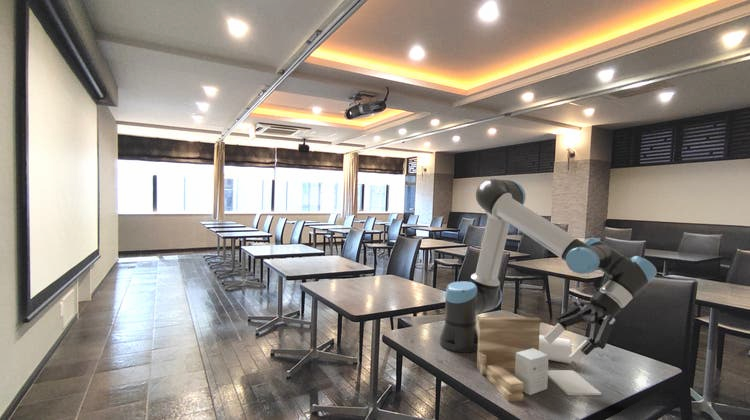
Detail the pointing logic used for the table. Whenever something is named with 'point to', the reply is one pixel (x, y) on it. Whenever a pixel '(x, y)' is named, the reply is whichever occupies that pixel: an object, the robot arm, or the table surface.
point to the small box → (532, 370)
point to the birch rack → (505, 340)
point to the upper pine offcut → (505, 378)
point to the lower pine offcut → (506, 391)
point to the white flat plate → (572, 383)
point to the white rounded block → (556, 349)
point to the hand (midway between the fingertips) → (559, 349)
